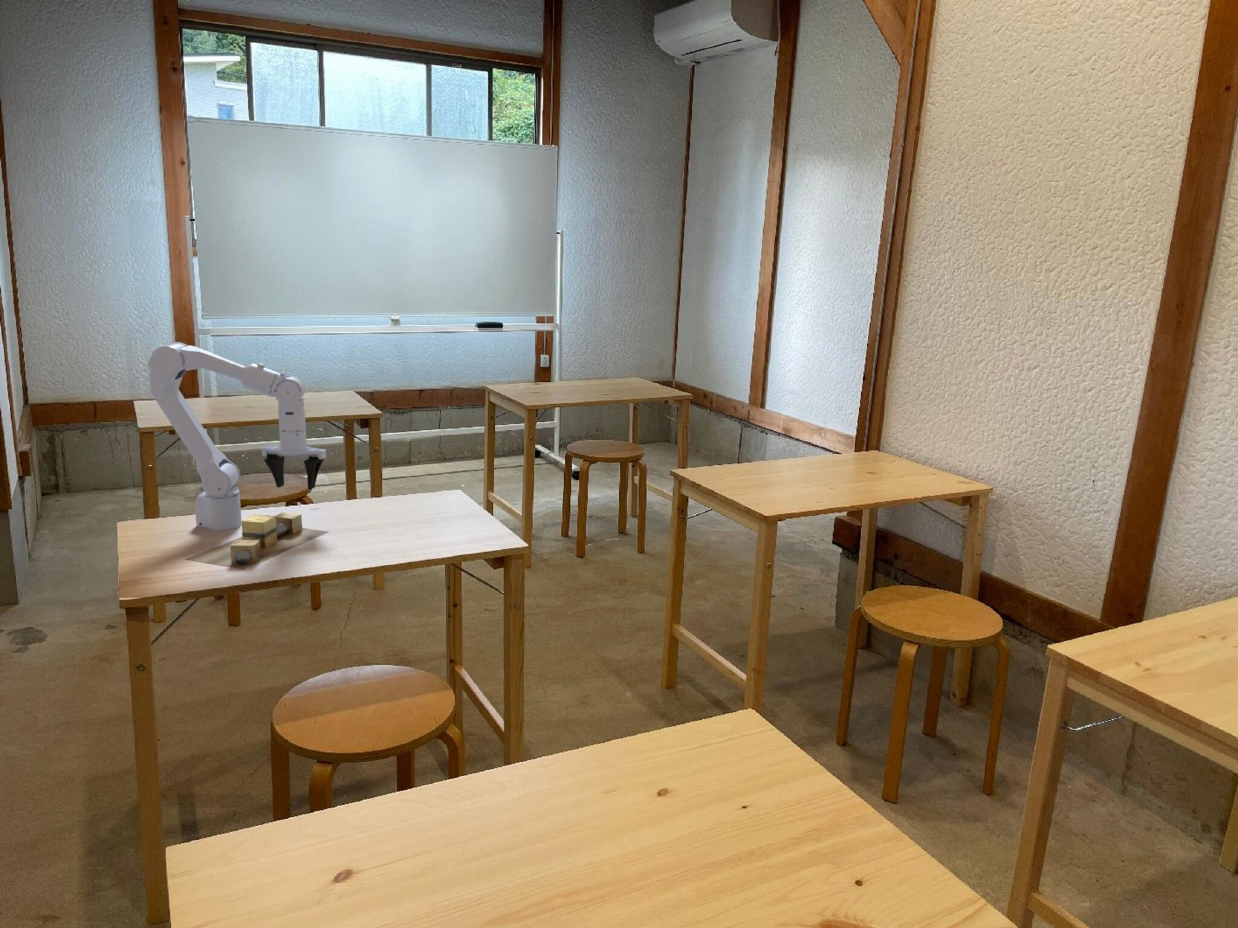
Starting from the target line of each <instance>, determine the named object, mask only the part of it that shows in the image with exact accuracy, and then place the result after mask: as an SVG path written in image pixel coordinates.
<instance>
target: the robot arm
mask: <svg viewBox="0 0 1238 928" xmlns="http://www.w3.org/2000/svg"><path fill="white" fill-rule="evenodd" d="M147 367H148V370H149V389H150V393H151V395H152V397H153V398H154V400H155V402H156V403H157V404H158V406H159V408H160V409H161V411H162V412H163V414H164V415H165V416H166V418H167V419H168V421H169V423H170V424H171V426H172V427H173V429H174V430H175V432H176V433H177V435H178V436H179V438H180V439H181V442H183V444H184V446H185V447H186V448H187V450H188V451H189V453H190V455H191V456H192V458H193V460H194V461H195V466H196V472H197V474H198V475H199V477H200V480H201V488H202V489H203V492H201V493H200V494H198V496H197V497H196V498H195V501H194V511H195V512H194V513H195V523H196V524H195V525H196V527H200V528H205V529H209V530H212V531H228V530H233V529H236V528H240V527H242V521H243V520H242V508H241V506H242V505H241V495H240V490H239V488H238V487H237V484H238V482H239V481H240V479H241V471H240V469H239V466H237V465H236V464H235V463H233V462H232V461H230V460H229V459H228V457H227V456H226V455H225V454H224V452H222V451H220V450H219V449H217V447H216V445H215V444H214V443H213V440H212V439H211V437H210V436H209V435H208V432H207V431H206V430H205V428H204V427H203V425H202V424H201V422H200V420H199V419H198V418H197V417H198V416H197V415H195V413H194V411H193V409H192V408H191V406H190V405H189V403H188V402H187V400H186V399H185V397H184V396H183V394H182V392H181V390H180V386H181V382H182V380H183V377H184V375H185V374H186V372H187V371H192V370H193V371H194V370H200V369H204V370H206V371H207V370H208V371H211V372H215V373H216V374H220V375H224V376H227V377H230V378H233V379H237V380H238V381H240V383H241V385H242V387H243V388H245V389H247V390H250V391H254V392H256V393H260V394H263V395H265V396H268V397H270V398H273V397H275V399H276V401H278V403H277V404H278V410H277V415H278V429H279V430H278V431H279V432H278V433H279V445H275V446H273V445H272V446H270V445H269V446H268V445H266V446H265V445H264V446H263V447H261V455H262V457H266V458H264V463H265V464H266V466H267V468H268V469H269V470H270V472H271V474H272V476H273V479H274V483H275V485H276V488H282V487H284V486H285V474H284V473H285V472H284V466H285V457H287V458H305V460H303V463H304V467H305V470H306V476H307V478H306V480H307V488H308V490H313V489H315V487H316V482H317V479H318V478H317V477H318V474H319V471H320V468H321V467H322V464H323V463H324V460H325V459H326V458H327V453H326V452H327V450H326V448H325V449H324V448H317V447H311V446H308V445H307V443H308V442H307V428H306V427H307V425H306V424H307V423H306V422H307V421H306V410H305V402H304V401H305V400H304V398H303V397H304V395H305V393H306V386H305V383H304V381H303V380H302V379H300V378H299V377H297V376H296V375H295V374H294V375H293V374H288V375H287V374H286V372H284V371H280V372H278V371H275V370H273V369H269V368H267V367H265V364H264V363H261V362H259V363H257V364H255V363H250V364H248V365H246V366H245V365H242V364H240V363H237V362H235V361H233V360H230V359H229V358H224V357H223V356H220V355H218V354H215V353H213V352H212V351H211V352H210V351H208V350H206V349H202V348H199V347H198V346H194V345H189V344H188V345H187V344H186V343H183V342H179V341H174V342H171V343H169V344H167V345H163V346H159V347H157V348H156V349H154V351H153V352H152V353H151V356H150V358H149V360H148V362H147ZM306 458H307V459H306Z"/></svg>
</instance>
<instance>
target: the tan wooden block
mask: <svg viewBox="0 0 1238 928" xmlns="http://www.w3.org/2000/svg"><path fill="white" fill-rule="evenodd" d="M241 532H242V533H241V537H243V540H250V539H252V538H256V539H259V540H260V541H261V544H262V546H261V549H267V548H269V547H270V546H272V545H274V544H275V543H277V527H276V515H268V514H267V515H265V514H264V515H263V514H252V515H250V516H248V517H247V518H245V519H243V520H242V525H241Z"/></svg>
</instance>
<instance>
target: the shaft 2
mask: <svg viewBox="0 0 1238 928" xmlns="http://www.w3.org/2000/svg"><path fill="white" fill-rule="evenodd" d="M275 516H276V527H277V538H278V537H280V536H282V535H284V534H290V535H294V534H296V533H298V532H300V531H302V528H303V520H302V517H303V516H302V514H301V513H293V512H283V511H282V512H281V513H277V514H276V515H275Z"/></svg>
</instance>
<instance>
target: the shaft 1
mask: <svg viewBox="0 0 1238 928" xmlns="http://www.w3.org/2000/svg"><path fill="white" fill-rule="evenodd" d="M234 540H235V539H234ZM261 546H262V544H261V541H260V540H259V539H256V538H252V539H250V540H235V541H234V542H233V543H232V544H231V545H230V550H231V563H237V564H238V565H245V564H247V563H257V561H258V560H259V559H260V558H261Z"/></svg>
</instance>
